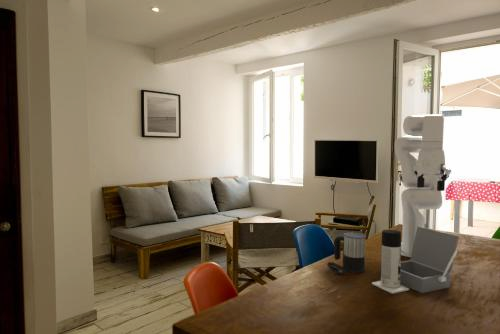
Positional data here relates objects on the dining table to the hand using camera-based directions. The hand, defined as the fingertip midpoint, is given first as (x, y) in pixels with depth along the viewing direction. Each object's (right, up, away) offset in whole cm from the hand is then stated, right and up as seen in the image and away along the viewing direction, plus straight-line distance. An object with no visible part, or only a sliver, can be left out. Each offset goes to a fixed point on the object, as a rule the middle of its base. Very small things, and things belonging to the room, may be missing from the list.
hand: (430, 189), depth 150 cm
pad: (-21, -35, -12) cm, 43 cm away
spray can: (-21, -35, -12) cm, 42 cm away
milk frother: (-32, -34, +5) cm, 47 cm away
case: (-7, -35, -7) cm, 36 cm away
